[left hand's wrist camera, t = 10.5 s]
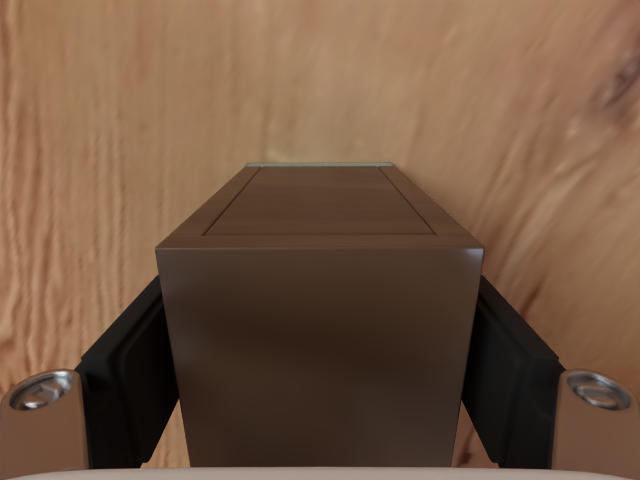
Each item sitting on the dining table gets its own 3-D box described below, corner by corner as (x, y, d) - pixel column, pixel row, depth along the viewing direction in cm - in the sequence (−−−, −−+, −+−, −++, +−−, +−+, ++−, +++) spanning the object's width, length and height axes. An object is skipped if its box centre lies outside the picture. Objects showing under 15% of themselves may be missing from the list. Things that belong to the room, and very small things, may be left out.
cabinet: (374, 443, 23) (415, 697, 13) (266, 443, 23) (227, 697, 13) (392, 162, 18) (487, 246, 8) (247, 163, 18) (152, 247, 8)
